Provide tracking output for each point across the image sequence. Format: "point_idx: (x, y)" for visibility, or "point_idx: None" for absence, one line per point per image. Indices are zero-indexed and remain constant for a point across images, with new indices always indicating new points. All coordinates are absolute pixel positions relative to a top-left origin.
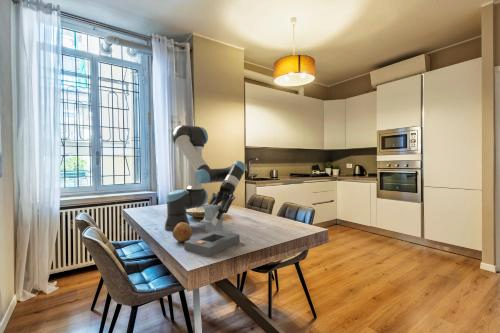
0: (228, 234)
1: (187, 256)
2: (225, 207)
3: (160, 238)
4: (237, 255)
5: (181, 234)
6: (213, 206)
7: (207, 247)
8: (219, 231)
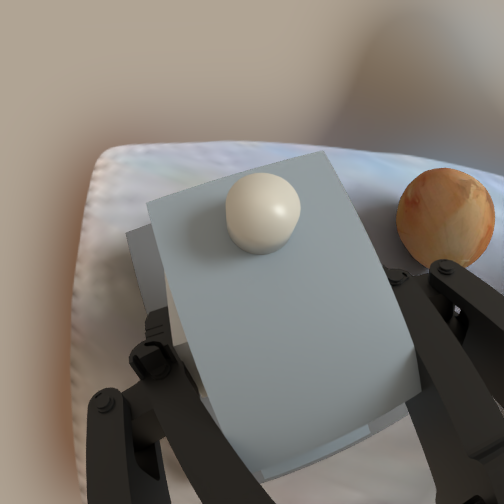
0: None
1: (216, 177)
2: (88, 440)
3: (482, 184)
4: (73, 355)
5: (405, 192)
6: (250, 282)
7: (139, 228)
8: (368, 425)
